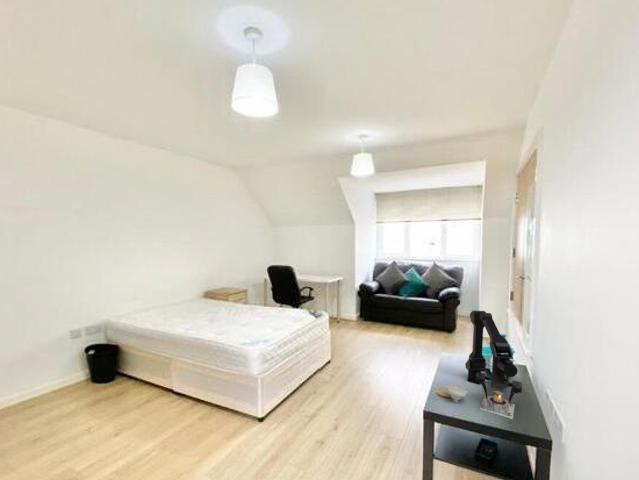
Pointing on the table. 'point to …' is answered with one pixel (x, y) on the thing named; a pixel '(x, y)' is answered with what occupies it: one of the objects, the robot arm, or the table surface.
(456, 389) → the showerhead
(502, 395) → the pipe stub
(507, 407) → the clear glass tray
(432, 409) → the table surface
